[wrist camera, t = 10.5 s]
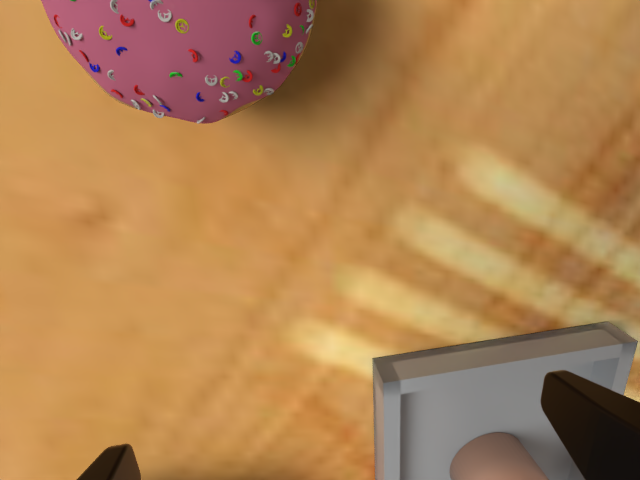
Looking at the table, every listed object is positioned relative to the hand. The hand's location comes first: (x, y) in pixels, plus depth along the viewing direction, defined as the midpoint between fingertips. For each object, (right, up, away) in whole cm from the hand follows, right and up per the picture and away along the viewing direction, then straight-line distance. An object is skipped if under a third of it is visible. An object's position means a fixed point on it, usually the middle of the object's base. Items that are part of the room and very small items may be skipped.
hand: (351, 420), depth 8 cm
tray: (+11, -12, +20) cm, 26 cm away
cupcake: (-6, +14, +8) cm, 17 cm away
